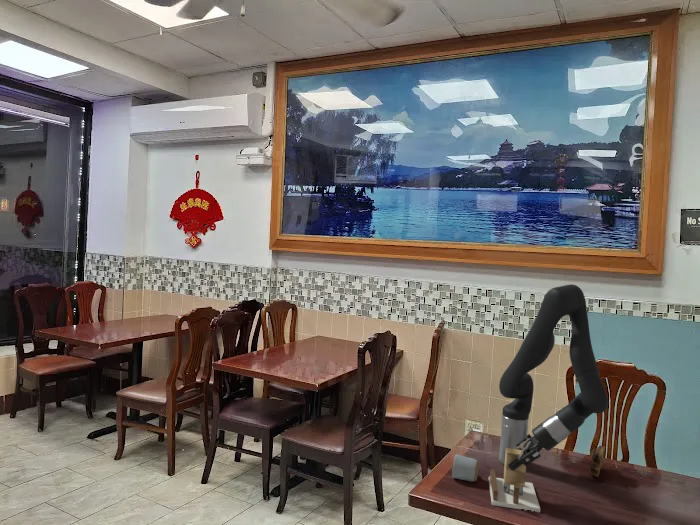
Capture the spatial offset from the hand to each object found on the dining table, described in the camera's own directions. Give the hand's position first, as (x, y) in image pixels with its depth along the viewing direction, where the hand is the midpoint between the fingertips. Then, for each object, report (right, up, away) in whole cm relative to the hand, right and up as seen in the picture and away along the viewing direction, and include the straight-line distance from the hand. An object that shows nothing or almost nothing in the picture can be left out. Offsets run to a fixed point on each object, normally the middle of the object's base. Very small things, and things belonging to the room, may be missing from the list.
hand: (509, 463), depth 164 cm
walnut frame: (-2, -9, +1) cm, 9 cm away
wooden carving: (+37, -12, +20) cm, 43 cm away
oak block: (+1, -6, 0) cm, 6 cm away
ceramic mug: (-12, -9, +11) cm, 19 cm away
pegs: (+1, -9, 0) cm, 9 cm away
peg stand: (+1, -10, 0) cm, 10 cm away
